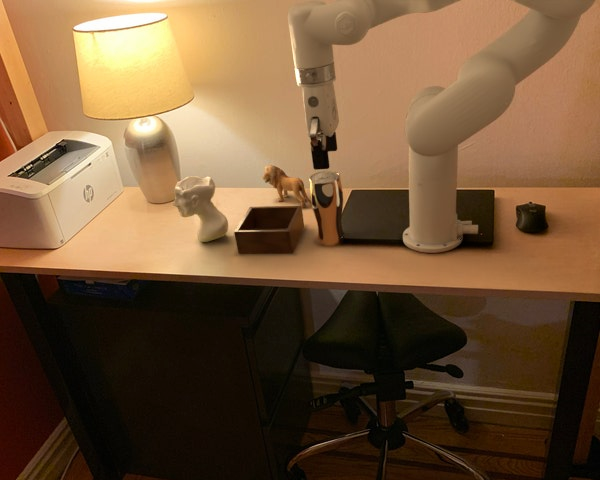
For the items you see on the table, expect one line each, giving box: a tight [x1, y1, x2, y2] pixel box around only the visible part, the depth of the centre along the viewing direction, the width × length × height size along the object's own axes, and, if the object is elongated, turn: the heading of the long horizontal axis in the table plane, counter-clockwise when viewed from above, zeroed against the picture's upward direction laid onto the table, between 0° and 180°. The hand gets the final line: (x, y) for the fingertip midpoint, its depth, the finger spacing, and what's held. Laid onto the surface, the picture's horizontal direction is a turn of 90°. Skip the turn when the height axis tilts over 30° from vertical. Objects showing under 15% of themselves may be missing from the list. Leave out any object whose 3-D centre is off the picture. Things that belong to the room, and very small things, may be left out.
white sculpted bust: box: [172, 175, 229, 243], centre depth 136 cm, size 10×11×15 cm
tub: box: [233, 205, 305, 255], centre depth 134 cm, size 13×13×6 cm
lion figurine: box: [261, 164, 312, 209], centre depth 150 cm, size 15×5×9 cm, turn 55°
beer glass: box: [309, 170, 346, 247], centre depth 129 cm, size 7×7×15 cm
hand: (325, 159), depth 122 cm, fingers open, 9 cm apart
